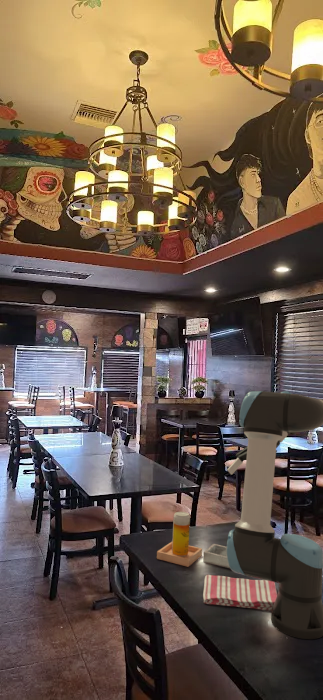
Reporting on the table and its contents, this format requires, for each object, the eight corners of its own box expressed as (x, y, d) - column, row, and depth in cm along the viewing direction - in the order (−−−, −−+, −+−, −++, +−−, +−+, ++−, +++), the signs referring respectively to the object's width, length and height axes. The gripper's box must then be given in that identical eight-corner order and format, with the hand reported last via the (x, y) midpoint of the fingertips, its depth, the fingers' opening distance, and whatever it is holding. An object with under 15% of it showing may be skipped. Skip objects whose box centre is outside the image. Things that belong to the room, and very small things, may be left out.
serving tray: (188, 566, 169) (188, 559, 169) (156, 558, 175) (157, 551, 175) (201, 555, 180) (202, 548, 180) (171, 547, 186) (172, 541, 186)
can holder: (229, 568, 170) (229, 558, 170) (203, 561, 174) (203, 552, 175) (238, 559, 179) (238, 549, 179) (213, 552, 183) (213, 543, 183)
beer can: (188, 558, 175) (190, 516, 175) (171, 557, 175) (173, 515, 175) (187, 552, 181) (189, 511, 181) (171, 551, 181) (173, 510, 181)
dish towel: (282, 614, 141) (282, 602, 141) (202, 605, 143) (203, 593, 143) (274, 587, 158) (274, 577, 158) (203, 580, 160) (203, 570, 160)
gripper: (298, 449, 179) (262, 491, 173) (260, 438, 202) (227, 475, 196) (287, 434, 177) (250, 477, 171) (250, 425, 201) (217, 462, 195)
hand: (238, 476), depth 184 cm, fingers open, 13 cm apart
